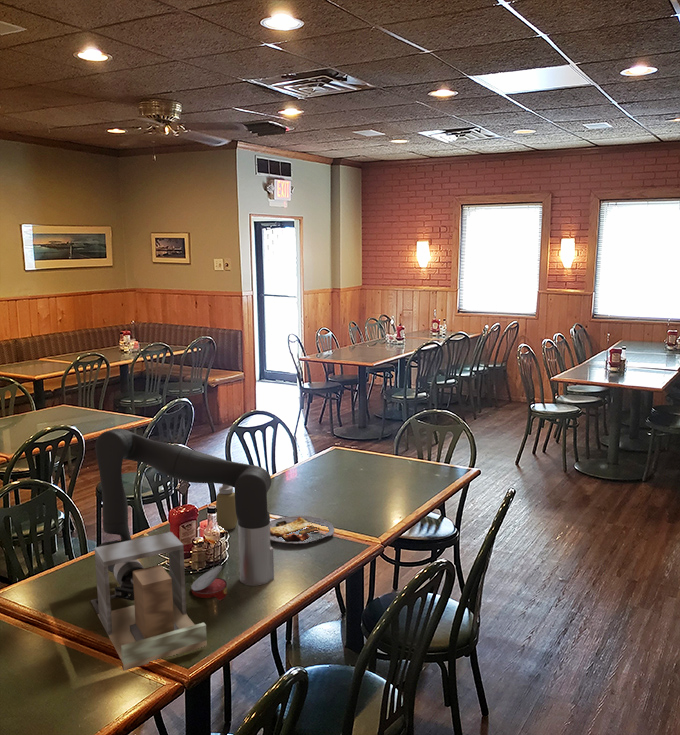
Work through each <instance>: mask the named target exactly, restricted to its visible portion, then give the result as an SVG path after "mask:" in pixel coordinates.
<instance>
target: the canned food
mask: <svg viewBox="0 0 680 735" xmlns="http://www.w3.org/2000/svg"><path fill="white" fill-rule="evenodd" d="M222 569H223V565H219V566H216V567H214V568H212V569H209V570H208V571H206V572H204V573H203V574H201V576H199V577H197V579H196V580H194V581H193V583H192V584H191V586H190V587H191V594H192V595H193V596H195V597H197V598H202V599H203V598H204V599H208V598H209V599H211V598H216V599H217V601H219V602H220V601H222V600H223V599H225V598H226V597H227V596H228V582H227V581H226V580H225V579H224V578H221V577H218V575H219V573H221V571H222Z"/></svg>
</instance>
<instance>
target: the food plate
mask: <svg viewBox="0 0 680 735" xmlns="http://www.w3.org/2000/svg"><path fill="white" fill-rule="evenodd" d="M307 521H308V522H307ZM310 522H312V523H316V524H319V525H321V526H326V527H328V529H329V532H328V533H326V536H323V535H321V534H320V535H321V536H322V538H319V537H318V538H319V539H320V540H322V539H324V538H326V537H331V536H333V535H334V533H335V528H334V525H333V523H331V522H330V521H328V520H326V519H324V518H321V517H319V516H317V517H316V516H312V515H291V516H287V515H285V516H282V517H278V518H275V519H272V520H270V542H274V543H282V544H285V545H298V544H300V545H305V544H310V543H309V542H312V541H316V542H318V541H320V540H319V539H315V538H314V540H311V539H310V540H311V541H309V542H308V541H307V542H305V541H304V540H306V539H308V538H309V537H310V536H309V535H308V534H307V533H310V532H314V531H318V530H317V527H314V526H311V527H309V528H306V529H304V530H302V531H300V532H299V534H301V535H299V534H298V535H297V534H295V533H293V532H296V531H298V530H300V529H303V528H305V527H307V525H310V524H312V523H310ZM315 528H316V529H315ZM291 532H292V534H289V533H291ZM325 532H326V531H325ZM287 534H289V535H287ZM279 537H282V538H283V539H284V540H285V541H282V540H280V539H281V538H279ZM317 540H318V541H317ZM303 541H304V542H303ZM312 543H313V542H312Z"/></svg>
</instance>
